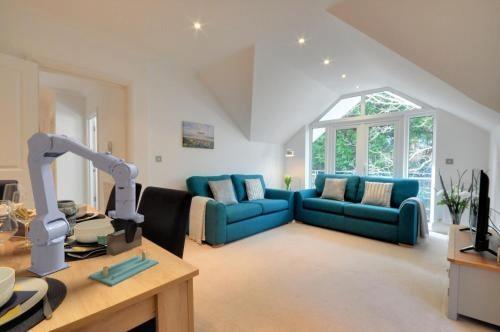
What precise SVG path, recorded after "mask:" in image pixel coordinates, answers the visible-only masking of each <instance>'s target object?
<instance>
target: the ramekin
mask: <svg viewBox="0 0 500 332" xmlns="http://www.w3.org/2000/svg"><path fill="white" fill-rule="evenodd" d="M113 230H114V229H113ZM113 233H115V230H114V232H113ZM96 236H97V235H96ZM98 244H107V236H97V245H98Z"/></svg>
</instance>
